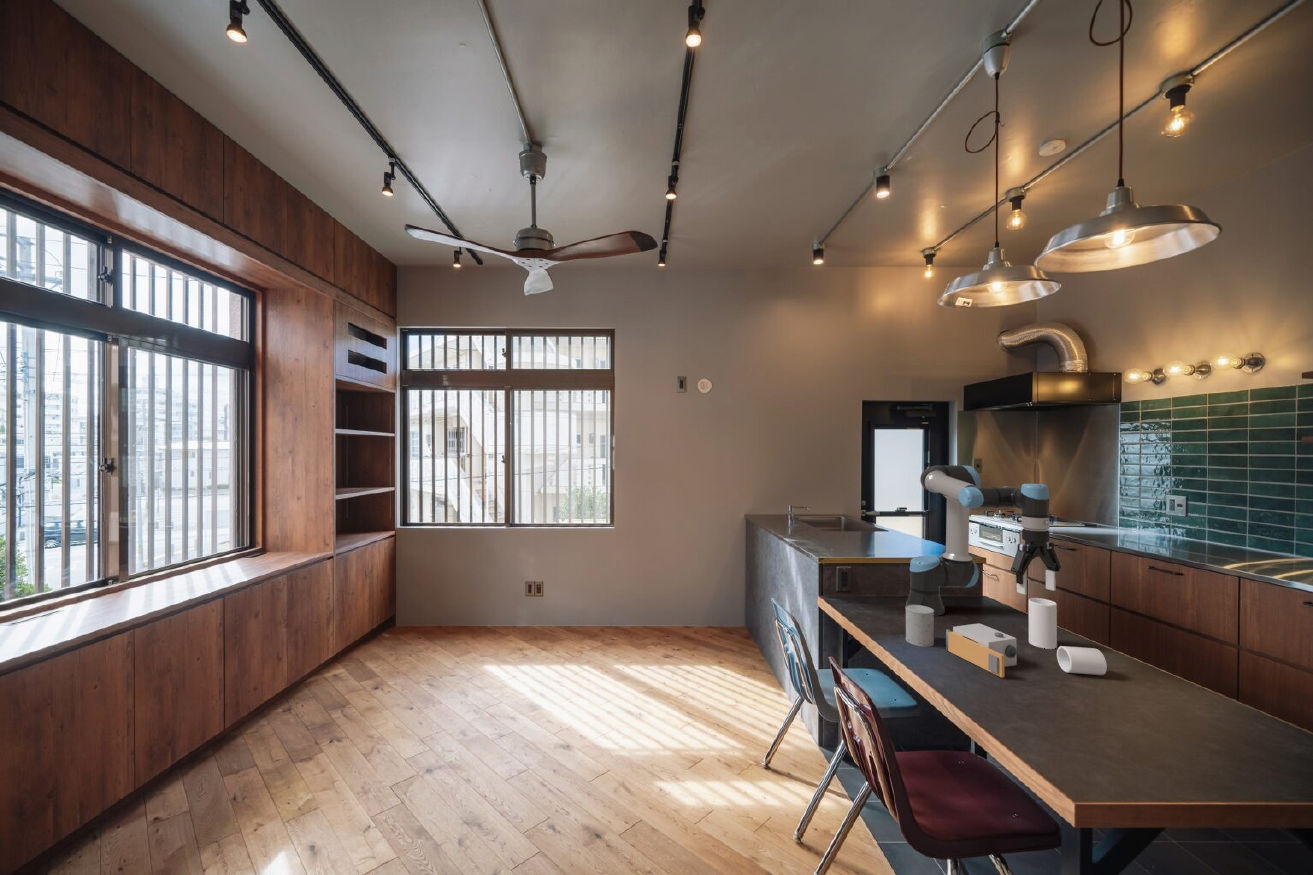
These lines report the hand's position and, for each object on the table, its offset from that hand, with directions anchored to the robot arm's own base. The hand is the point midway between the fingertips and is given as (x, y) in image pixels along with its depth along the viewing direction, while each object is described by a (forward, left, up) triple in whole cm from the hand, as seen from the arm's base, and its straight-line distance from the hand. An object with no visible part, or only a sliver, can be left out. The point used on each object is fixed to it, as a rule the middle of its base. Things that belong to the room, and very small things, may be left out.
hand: (1036, 591), depth 168 cm
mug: (+7, +8, -25) cm, 27 cm away
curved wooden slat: (-6, -21, -24) cm, 33 cm away
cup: (-11, +17, -25) cm, 32 cm away
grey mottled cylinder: (-26, -24, -25) cm, 43 cm away
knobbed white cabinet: (-8, -14, -24) cm, 29 cm away
